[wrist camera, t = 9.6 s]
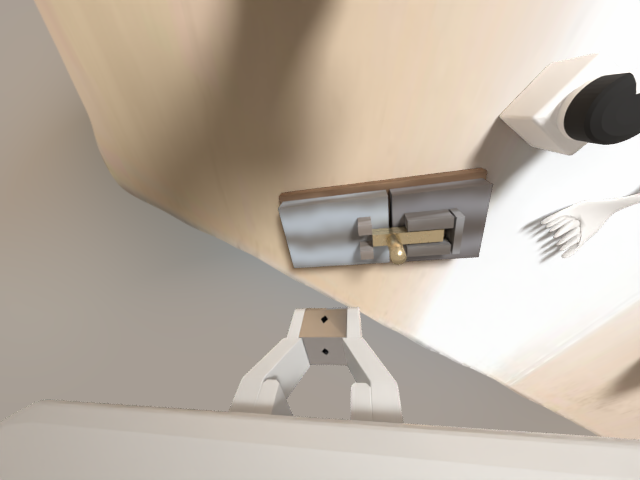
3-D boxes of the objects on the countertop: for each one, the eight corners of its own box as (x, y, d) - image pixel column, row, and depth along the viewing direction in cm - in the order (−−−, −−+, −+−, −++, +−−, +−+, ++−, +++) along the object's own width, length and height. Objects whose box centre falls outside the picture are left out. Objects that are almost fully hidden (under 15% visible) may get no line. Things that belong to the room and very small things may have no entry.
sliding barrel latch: (281, 192, 41) (267, 210, 34) (480, 167, 35) (511, 182, 28) (298, 257, 48) (288, 282, 41) (467, 245, 42) (490, 273, 35)
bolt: (371, 229, 36) (375, 253, 30) (439, 223, 35) (457, 247, 29) (372, 240, 37) (375, 265, 31) (438, 234, 36) (455, 261, 30)
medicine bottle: (531, 147, 33) (611, 166, 23) (497, 116, 32) (565, 122, 21) (586, 98, 30) (710, 94, 19) (550, 61, 28) (662, 36, 18)
